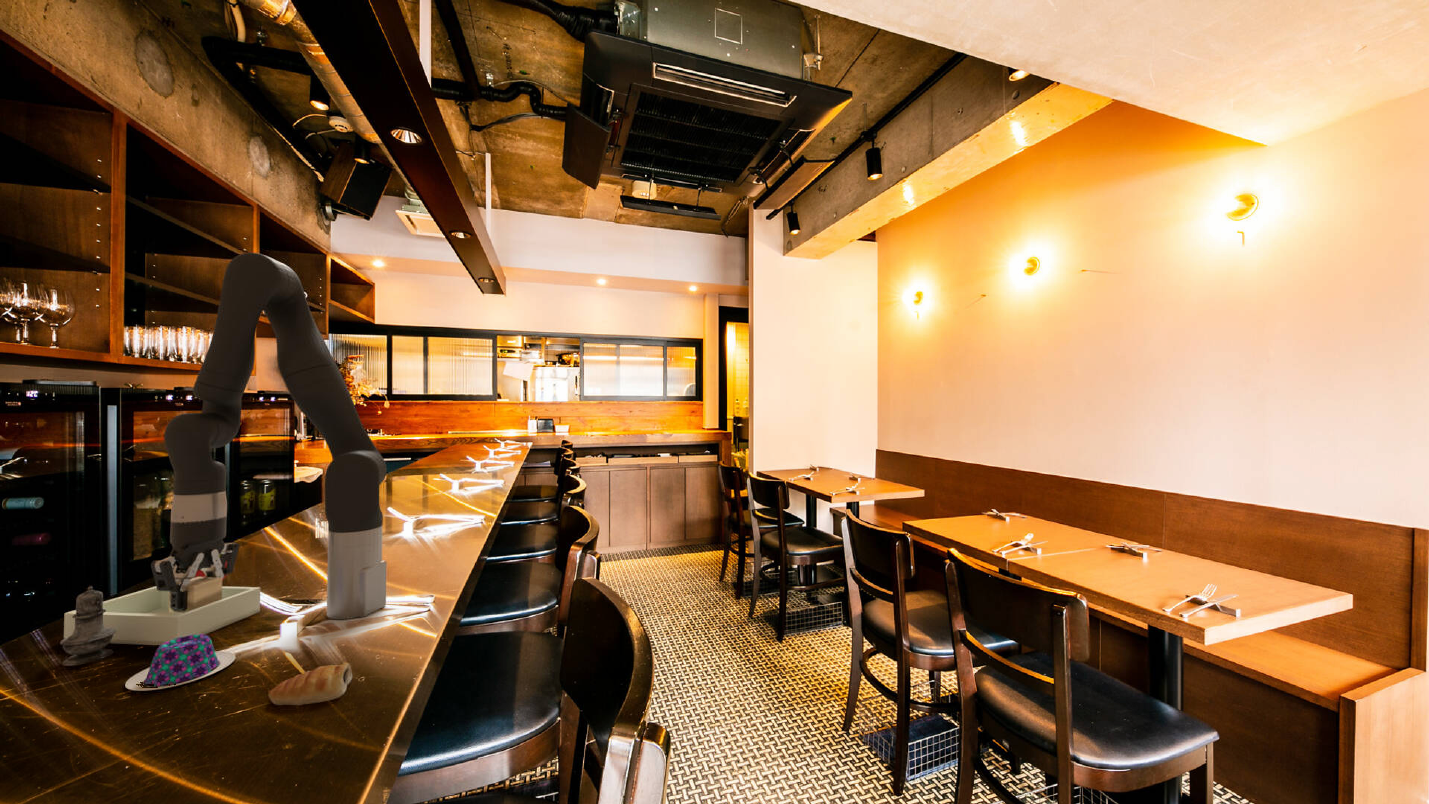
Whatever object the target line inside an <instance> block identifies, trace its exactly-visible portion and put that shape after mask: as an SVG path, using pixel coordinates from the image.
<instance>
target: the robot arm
mask: <svg viewBox="0 0 1429 804" xmlns="http://www.w3.org/2000/svg"><path fill="white" fill-rule="evenodd" d="M218 304H219V305H218V309H217V315H216V321H215V324H214V329H213V332H212V337H211V340H210V343H209V346H208V349H207V352H206V354H205V357H204V360H203V362H202V364H201V367H200V370H199V371H198V374H197V377H196V380H195V382H194V385H193V387H192V394H193V396H195V398H197V399H199V400H201V401H202V409H201V410H202V411H201V412H185V413H181V414H179V415H177V416H174V417H173V418H172V419H171V420H170V421H169V422H168V423H167V424H166V427H165V430H164V434H163V435H164V436H163V439H164V445H165V448H166V449H165V450H166V453H167V455H168V458H169V461H170V465H171V467H172V469H173V472H174V477H173V478H174V479H173V497H172V503H171V509H170V510H171V511H170V529H169V530H170V534H169V543H170V544H171V546H172V550H171V552H170V554H169V556H168V557H166V558H164V559H161V560H153V561H151V563H150V568H151V572H152V576H153V579H154V583H155V586H156V587H157V590H158V591H169V592H170V593H171V599H170V601H171V602H170V608H171V609H173V611H174V612H182V611H185V610H187V597H188V591H186V590H187V588H188V586H189V583H190V581H191V579H193V578H195V577H196V572H197V571H198V570H202V571H203V572H204V574H205V576H206V577H221V578H222V579H223V577H224V576H225V575H227V576H228V575H231V574H232V573H233V572H234V567H235V565H236V561H237V557H238V553H239V549H240V544H239V543H235V542H224V540H223V539H225V538H226V535H227V516H228V515H227V513H228V500H227V493H226V492H227V491H226V488H227V487H226V486H227V467H226V466H225V464H224V463H222V462H219V461H216V460H215V461H214V459H213V456H212V452H211V449H218V448H222V447H225V446H227V445H228V444H230V443H231V442H232V441H233V440H234V438H235V437H236V436H237V435H238V433H239V430H240V426H241V416H242V415H241V413H242V398H243V396H244V393H245V391H246V388H247V385H248V384H249V381H250V378H251V375H252V373H253V370H254V366H255V359H256V343H255V342H256V332H257V327H258V322H259V320H260V317H261V315H262V313H264V315H265V317H266V318H267V320H268V322H269V324H270V326H271V328H272V330H273V332H274V333H273V334H274V335H275V341H276V342H275V343H276V358H277V365H278V366H277V367H278V370H279V374H280V375H281V378H282V380H283V383H284V385H285V387H286V389H287V390H288V392H289V394H290V396H291V398H292V400H293V401H294V403H295V405H296V406H297V407H298V408H299V410H300V411H301V412H302V414H303V415H304V416H305V417H306V418H307V420H309V421H310V422H311V424H312V425H313V426H314V427H315V428H316V429H317V430H318V432H319V433H320V434H321V436H322V437H323V439H324V441H325V443H326V445H327V447H328V450H329V452H330V454H331V458H332V460H331V462H330V463H329V464H328V465H327V469H326V471H325V475H324V476H325V477H324V512H325V514H324V515H325V518H326V521H327V523H328V524H327V525H328V529H327V530H328V531H327V532H328V533H327V537H328V538H327V573H326V574H327V581H326V582H327V584H326V617H327V618H329V619H332V620H345V619H346V620H347V619H353V618H360V617H362V618H363V617H367V616H368V615H370V614H372V613H374V612H376V611H378V610H379V609H382V608H383V606H384V607H385V606H387V568H388V567H387V566H388V565H387V564H388V563H387V561H386V560H383V527H384V523H383V522H384V521H383V520H384V515H383V514H384V513H383V512H382V510H381V506H380V486H381V484H382V483H383V482H384V481H385V478H386V476H387V465H386V461H385V460H384V458H383V456H382V455H381V452H380V451H379V450H378V449H377V446H376V445H375V443H374V442H373V440H372V439H371V437H370V436H369V434H368V432H367V431H366V429H365V427H364V425H363V424H362V422H361V418H360V416H359V414H358V411H357V408H356V406H355V403H354V401H353V398H352V396H351V393H350V392H349V390H348V386H347V384H346V381H345V379H344V377H343V375H342V372H341V371H340V369H339V367H338V365H337V362H336V361H335V358H334V357H333V355H332V353H331V351H330V350H329V347H328V345H327V343H326V341H325V340H324V337H323V335H322V333H321V332H320V330H319V328H318V326H317V324H316V322H315V319H314V317H313V315H312V312H311V309H310V306H309V304H308V300H307V297H306V294H305V290H304V288H303V284H302V282H301V280H300V278H299V276H298V274H297V273H296V272H295V271H294V270H293V269H292V268H291V267H289V266H288V265H286V264H285V263H282V262H280V261H279V260H276V259H274V258H272V257H270V256H267V255H264V254H262V253H257V252H244V253H241V254H238V255H236V256H234V257H233V258H231V260H230V261H229V263H228V264H227V265H226V269H225V271H224V276H223V280H222V287H221V293H220V300H219V303H218ZM219 555H220V557H219ZM226 562H227V565H226ZM225 565H226V568H225ZM183 572H185V573H183ZM180 582H181V583H180ZM179 584H180V585H179Z"/></svg>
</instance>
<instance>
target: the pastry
mask: <svg viewBox="0 0 1429 804" xmlns="http://www.w3.org/2000/svg"><path fill="white" fill-rule="evenodd" d="M352 679H353V673H352V667H351V665H350V663H349V662H346V661H345V662H343V663H342V664H336V665H333V664H331V665H321V666H318V667H316V668H314V669H313V670H307V671H305V672H303V673H300V674H297V675H294V677H291V678H288V679H286V680H284V681H282V682H280V683H278V684H277V685H276V686H275V687H274V688H273V689H271V690H270V691H269V692H268V698H269V699H270V701H271V703H273V704H274V705H277V706H283V705H284V706H285V705H287V706H302V705H308V704H309V705H310V704H316V703H323V702H327V701H331V700H332V701H333V700H335V699H338V698H341V697H342V696H343V695H344V694H345V692H346V691H347V688H348V687H347V686H348V685H349V684H350V683H351V681H352Z"/></svg>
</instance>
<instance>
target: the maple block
mask: <svg viewBox="0 0 1429 804" xmlns="http://www.w3.org/2000/svg"><path fill="white" fill-rule="evenodd" d="M180 583H181V581H180ZM179 585H180V584H179ZM222 586H223V581H222V578H221V577H196V576H195V577H194V578H192V579H191V581H190V583H189V586H188V588H187V590H186V591H188V597H187V610H185V611H182V612H174V611H173V609H171V608H170V602H171V601H170V599H171V593H170V592H169V612H174V613H185V612H188V611H191V610H194V609H197V608H199V607H202V606H205V605H208V604H211V603H213V602H216V601H219V600H222Z"/></svg>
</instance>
